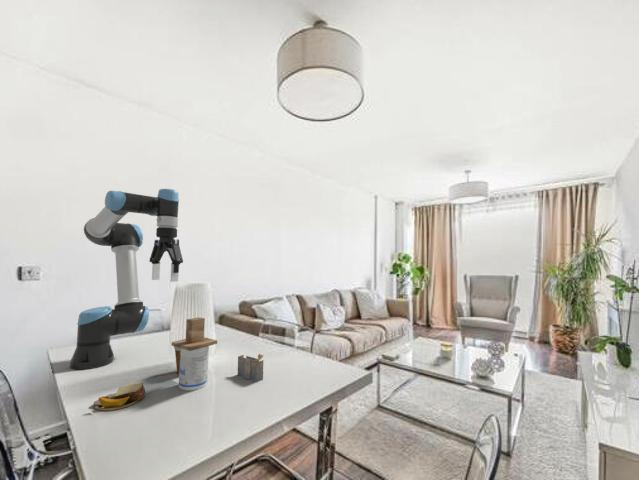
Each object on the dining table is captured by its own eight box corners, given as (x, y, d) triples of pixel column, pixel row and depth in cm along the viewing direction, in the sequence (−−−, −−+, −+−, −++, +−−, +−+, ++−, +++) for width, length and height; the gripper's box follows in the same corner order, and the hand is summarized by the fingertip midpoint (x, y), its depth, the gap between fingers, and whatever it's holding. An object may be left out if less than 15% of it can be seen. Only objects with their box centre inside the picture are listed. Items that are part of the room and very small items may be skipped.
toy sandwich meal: (104, 396, 102) (105, 382, 102) (149, 393, 105) (150, 379, 105) (85, 415, 90) (86, 398, 90) (136, 411, 93) (137, 394, 93)
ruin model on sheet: (263, 380, 118) (264, 354, 119) (257, 383, 116) (258, 356, 116) (243, 373, 124) (244, 349, 125) (237, 376, 122) (238, 351, 123)
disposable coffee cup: (189, 378, 118) (190, 346, 119) (167, 376, 120) (168, 344, 120) (203, 369, 127) (204, 340, 128) (182, 367, 129) (183, 338, 130)
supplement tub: (173, 386, 110) (175, 344, 111) (198, 379, 117) (200, 339, 118) (186, 394, 104) (188, 350, 105) (212, 386, 111) (214, 344, 112)
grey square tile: (127, 387, 109) (127, 385, 109) (160, 376, 119) (160, 375, 119) (144, 395, 102) (144, 394, 102) (178, 384, 112) (178, 383, 112)
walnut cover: (171, 345, 110) (172, 319, 111) (198, 339, 119) (199, 315, 120) (190, 350, 104) (191, 323, 105) (217, 343, 113) (218, 318, 114)
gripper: (141, 228, 129) (139, 279, 127) (175, 225, 115) (173, 282, 113) (159, 229, 135) (157, 278, 133) (193, 227, 121) (191, 281, 119)
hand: (164, 280), depth 123 cm, fingers open, 13 cm apart
